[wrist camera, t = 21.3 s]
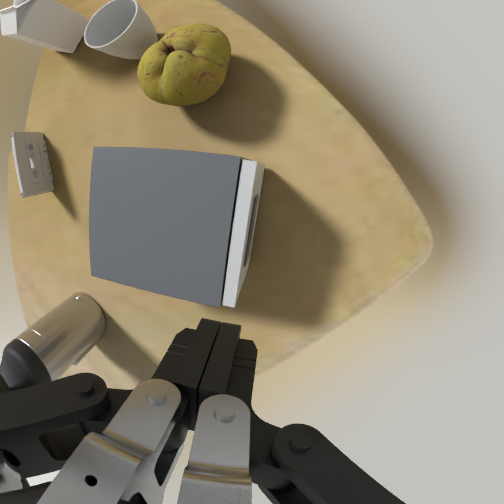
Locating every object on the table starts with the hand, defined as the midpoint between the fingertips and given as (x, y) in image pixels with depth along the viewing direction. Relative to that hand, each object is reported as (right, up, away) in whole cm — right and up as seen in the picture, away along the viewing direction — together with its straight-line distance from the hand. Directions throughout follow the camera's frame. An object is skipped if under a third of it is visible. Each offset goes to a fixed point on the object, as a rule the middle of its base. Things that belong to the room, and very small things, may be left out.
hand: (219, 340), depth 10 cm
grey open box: (-7, +10, +26) cm, 29 cm away
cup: (-15, +34, +19) cm, 42 cm away
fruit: (-6, +27, +21) cm, 35 cm away
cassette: (-36, +20, +26) cm, 48 cm away
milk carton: (-32, +43, +19) cm, 57 cm away
